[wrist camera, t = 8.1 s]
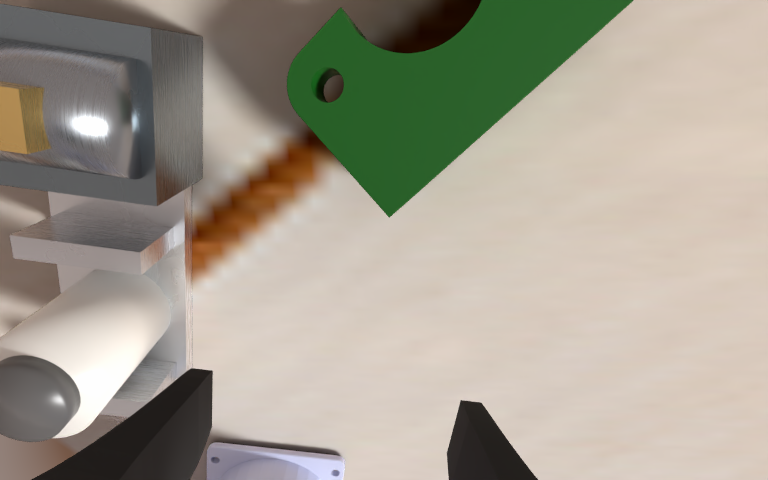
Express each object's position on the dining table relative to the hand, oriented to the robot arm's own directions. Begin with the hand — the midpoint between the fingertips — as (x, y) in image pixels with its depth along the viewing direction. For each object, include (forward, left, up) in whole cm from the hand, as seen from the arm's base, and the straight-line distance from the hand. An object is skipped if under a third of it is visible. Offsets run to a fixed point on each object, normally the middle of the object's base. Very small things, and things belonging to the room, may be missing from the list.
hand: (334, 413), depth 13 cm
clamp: (+10, -3, -10) cm, 15 cm away
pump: (-3, +11, -9) cm, 15 cm away
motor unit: (+1, +11, -10) cm, 15 cm away
